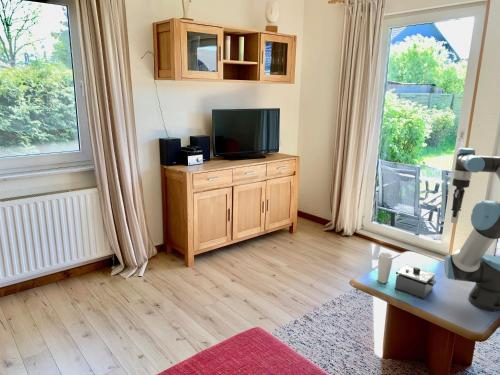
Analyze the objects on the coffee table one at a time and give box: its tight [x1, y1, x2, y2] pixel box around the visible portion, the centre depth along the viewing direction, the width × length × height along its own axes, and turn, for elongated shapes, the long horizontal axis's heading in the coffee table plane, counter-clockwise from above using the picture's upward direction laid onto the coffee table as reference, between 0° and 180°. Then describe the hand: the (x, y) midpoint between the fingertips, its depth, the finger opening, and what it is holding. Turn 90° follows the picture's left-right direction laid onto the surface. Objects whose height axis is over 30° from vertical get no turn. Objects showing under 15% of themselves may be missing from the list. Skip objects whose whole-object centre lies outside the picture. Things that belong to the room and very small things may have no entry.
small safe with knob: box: [394, 268, 437, 301], centre depth 186 cm, size 18×14×8 cm
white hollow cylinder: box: [377, 252, 394, 284], centre depth 193 cm, size 7×7×15 cm
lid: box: [396, 264, 436, 283], centre depth 185 cm, size 14×14×3 cm
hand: (454, 222), depth 191 cm, fingers closed
